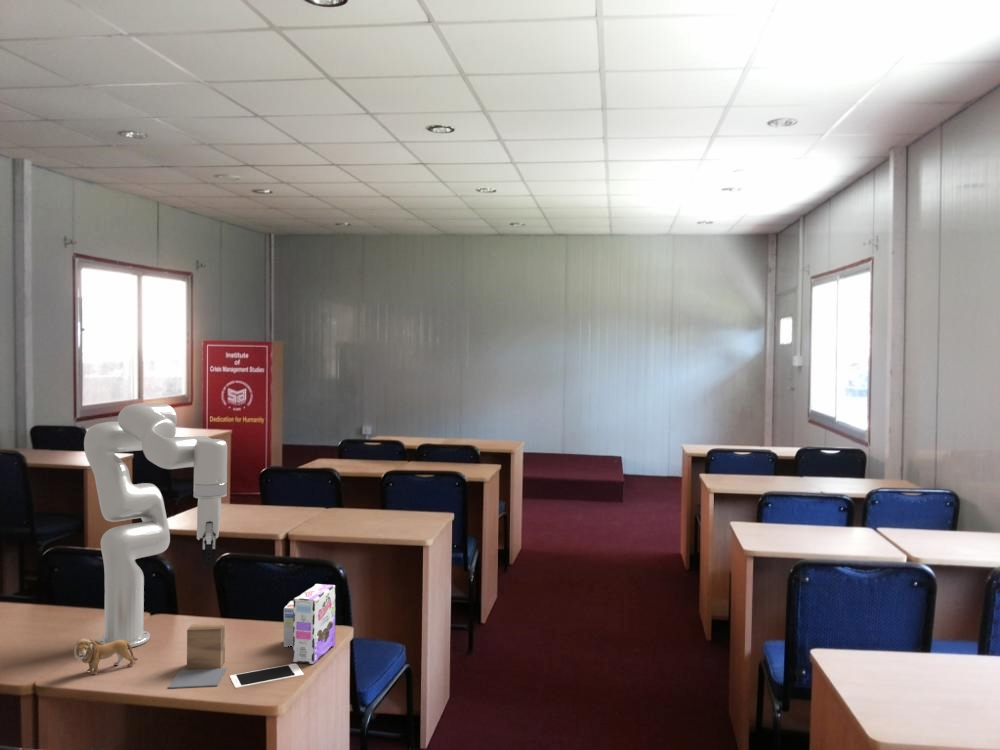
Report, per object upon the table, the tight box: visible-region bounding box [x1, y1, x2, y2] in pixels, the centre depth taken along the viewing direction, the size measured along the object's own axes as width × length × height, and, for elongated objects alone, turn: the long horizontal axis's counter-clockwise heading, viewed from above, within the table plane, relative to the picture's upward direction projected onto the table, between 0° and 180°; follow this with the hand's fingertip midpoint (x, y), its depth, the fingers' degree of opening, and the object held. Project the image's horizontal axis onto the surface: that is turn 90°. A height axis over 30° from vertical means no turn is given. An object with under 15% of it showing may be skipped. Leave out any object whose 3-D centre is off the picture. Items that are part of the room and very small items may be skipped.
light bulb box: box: [283, 600, 294, 648], centre depth 202 cm, size 11×7×11 cm, turn 89°
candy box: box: [292, 583, 336, 665], centre depth 194 cm, size 14×6×16 cm, turn 169°
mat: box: [167, 667, 227, 690], centre depth 178 cm, size 10×11×1 cm
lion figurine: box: [73, 638, 139, 675], centre depth 183 cm, size 15×5×9 cm, turn 137°
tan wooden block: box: [186, 622, 226, 670], centre depth 186 cm, size 4×8×10 cm, turn 98°
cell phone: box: [229, 663, 304, 689], centre depth 180 cm, size 8×16×1 cm, turn 120°
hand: (209, 560), depth 181 cm, fingers open, 9 cm apart
